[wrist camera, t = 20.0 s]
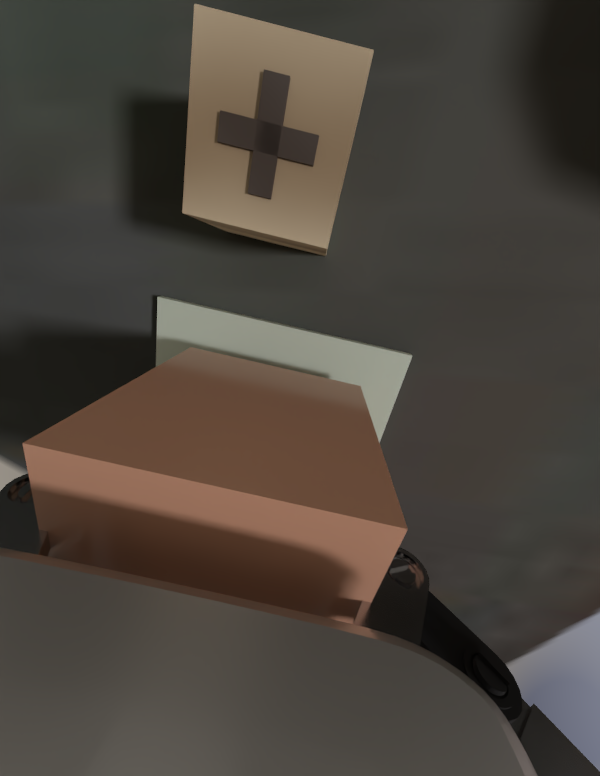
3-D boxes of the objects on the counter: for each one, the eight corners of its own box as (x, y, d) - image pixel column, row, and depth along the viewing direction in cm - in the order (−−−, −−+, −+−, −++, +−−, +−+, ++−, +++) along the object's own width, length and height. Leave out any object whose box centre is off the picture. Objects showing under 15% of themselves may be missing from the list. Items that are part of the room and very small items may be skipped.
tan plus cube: (242, 103, 10) (192, -1, 6) (355, 132, 10) (374, 47, 6) (227, 231, 11) (180, 212, 8) (325, 256, 12) (326, 248, 8)
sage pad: (162, 295, 12) (157, 296, 12) (409, 353, 13) (412, 355, 12) (157, 477, 16) (153, 482, 16) (347, 520, 16) (347, 525, 16)
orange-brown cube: (190, 346, 12) (22, 443, 5) (360, 386, 12) (407, 529, 5) (181, 482, 14) (63, 658, 8) (319, 513, 14) (316, 713, 8)
